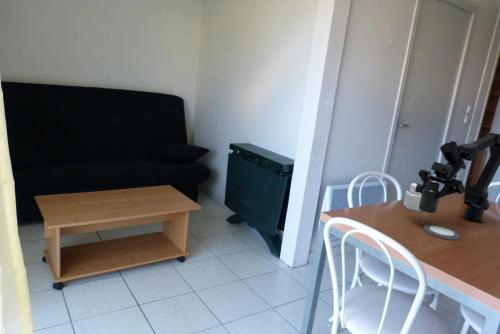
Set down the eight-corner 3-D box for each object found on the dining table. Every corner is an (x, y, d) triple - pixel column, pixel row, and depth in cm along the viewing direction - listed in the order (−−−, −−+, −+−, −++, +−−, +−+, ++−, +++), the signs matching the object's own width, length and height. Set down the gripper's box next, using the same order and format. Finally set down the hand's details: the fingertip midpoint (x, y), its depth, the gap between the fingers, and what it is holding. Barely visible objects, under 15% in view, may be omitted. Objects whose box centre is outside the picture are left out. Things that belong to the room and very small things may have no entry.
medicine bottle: (417, 206, 180) (422, 183, 177) (423, 211, 173) (428, 187, 170) (403, 204, 180) (407, 181, 178) (407, 209, 173) (412, 185, 171)
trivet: (448, 228, 153) (449, 226, 153) (466, 241, 140) (467, 239, 140) (418, 225, 152) (418, 223, 152) (433, 238, 140) (433, 235, 140)
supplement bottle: (438, 214, 148) (444, 186, 145) (420, 211, 149) (426, 183, 146) (433, 209, 155) (439, 182, 152) (416, 206, 156) (422, 179, 153)
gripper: (425, 151, 156) (402, 176, 154) (467, 161, 140) (443, 190, 138) (433, 168, 162) (411, 193, 159) (474, 179, 146) (451, 208, 143)
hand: (428, 195), depth 150 cm, fingers closed on supplement bottle, 7 cm apart
